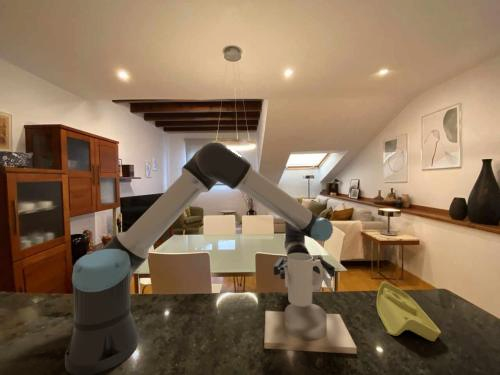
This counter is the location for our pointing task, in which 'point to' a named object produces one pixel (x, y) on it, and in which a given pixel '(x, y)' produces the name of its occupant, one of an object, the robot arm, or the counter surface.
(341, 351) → the board with round cheese
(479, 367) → the counter surface
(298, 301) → the mug
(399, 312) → the plastic component
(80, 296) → the robot arm
